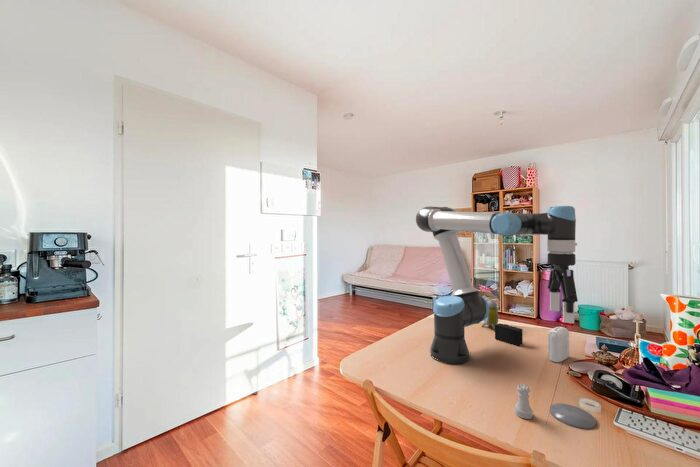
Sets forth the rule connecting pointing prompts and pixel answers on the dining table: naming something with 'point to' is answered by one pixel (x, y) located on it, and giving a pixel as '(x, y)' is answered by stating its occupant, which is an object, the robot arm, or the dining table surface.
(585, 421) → the grey disc
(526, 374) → the dining table surface
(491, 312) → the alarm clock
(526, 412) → the rook chess piece
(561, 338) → the white rounded block
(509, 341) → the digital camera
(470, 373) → the dining table surface
